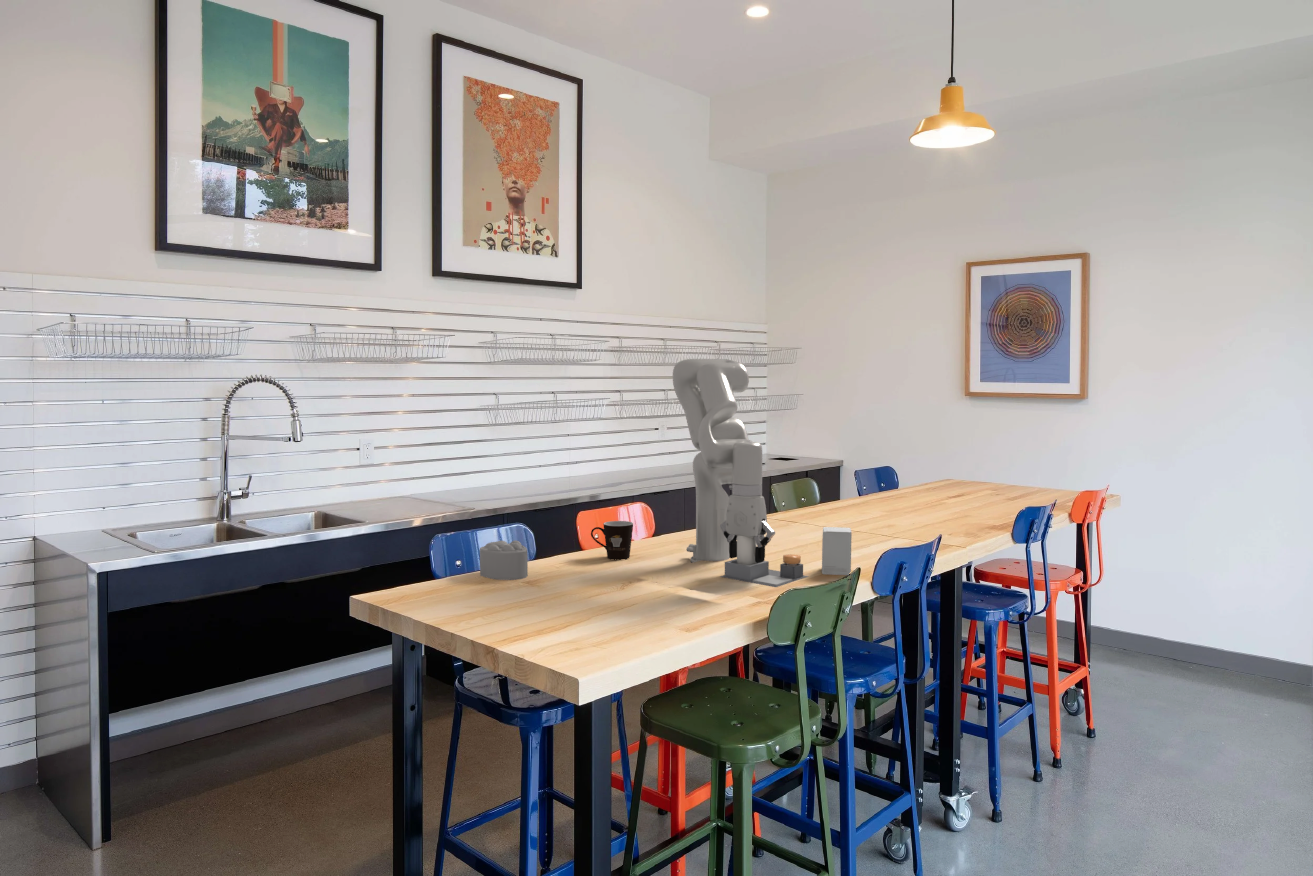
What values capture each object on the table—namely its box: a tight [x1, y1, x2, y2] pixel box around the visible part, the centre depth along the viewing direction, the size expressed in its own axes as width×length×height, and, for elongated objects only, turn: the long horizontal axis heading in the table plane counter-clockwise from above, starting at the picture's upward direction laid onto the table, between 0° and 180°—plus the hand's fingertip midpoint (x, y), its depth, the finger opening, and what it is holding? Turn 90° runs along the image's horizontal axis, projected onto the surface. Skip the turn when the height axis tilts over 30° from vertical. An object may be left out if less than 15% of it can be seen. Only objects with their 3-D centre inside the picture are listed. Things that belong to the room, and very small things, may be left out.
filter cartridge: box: [736, 535, 757, 566], centre depth 219 cm, size 5×5×14 cm
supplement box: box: [821, 526, 853, 576], centre depth 223 cm, size 7×7×13 cm
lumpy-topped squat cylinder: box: [479, 539, 529, 581], centre depth 226 cm, size 10×13×9 cm
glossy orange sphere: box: [782, 553, 802, 566], centre depth 218 cm, size 4×4×4 cm
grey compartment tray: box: [719, 558, 809, 588], centre depth 218 cm, size 17×15×5 cm
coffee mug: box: [590, 520, 634, 561], centre depth 248 cm, size 12×9×10 cm
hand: (746, 559), depth 219 cm, fingers open, 7 cm apart
